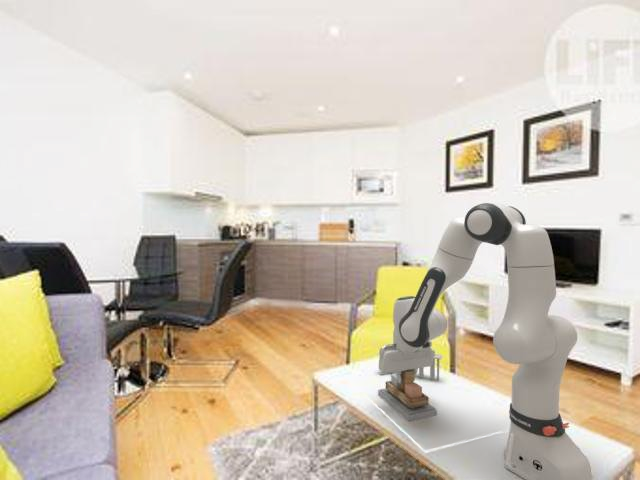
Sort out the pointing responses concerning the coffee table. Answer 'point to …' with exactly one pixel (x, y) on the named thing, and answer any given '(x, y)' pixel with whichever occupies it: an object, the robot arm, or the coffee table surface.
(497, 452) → the coffee table surface
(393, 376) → the pale blue cube
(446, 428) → the coffee table surface
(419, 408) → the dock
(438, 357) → the test tube rack
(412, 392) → the block
